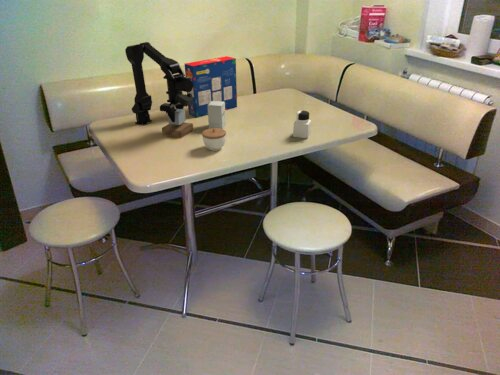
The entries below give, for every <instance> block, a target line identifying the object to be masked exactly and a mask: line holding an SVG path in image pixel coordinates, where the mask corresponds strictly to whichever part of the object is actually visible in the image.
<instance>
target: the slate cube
mask: <svg viewBox="0 0 500 375" xmlns="http://www.w3.org/2000/svg"><path fill="white" fill-rule="evenodd" d="M175 109H177V110H176V111H175V122H172V121H171V119H170V118H169V116H168V115H167V119H168V120H167V121H168V124H177V125H180V124H182V123H183V122H185V123H186V113H185V109H184V108H183V109H178V108H175Z"/></svg>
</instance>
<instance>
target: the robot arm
mask: <svg viewBox="0 0 500 375" xmlns="http://www.w3.org/2000/svg"><path fill="white" fill-rule="evenodd" d="M124 51H125V52H124V53H125V55H126V59H127V60H128V62H129V63H130V64H131V68H132V70H131V71H132V75H133V81H134V86H135V92H136V93H135V97H134V99H133V100H134V105H133V106H132V107H131V111H132V113H133V114H135V118H136V121H135V122H134V123H135V124H136V125H143V126H146V125H148V124H150V123H151V122H152V120H151V116H150V112H149V111H151V110H152V106H153V101H152V95H151V94H150V95H149V93H148V92H147V88H146V81H145V76H144V69H143V61H144V58H145V55H146V56H147V57H148V58H150V59H151V60H152V61H153V62H155V64H157V65H158V66H160V70H161V71H162V72H163V74H165V75H164V76H163V79H165V80H166V85H167V86H166V87H167V91H165V93H166V95H167V96H168V99H167V100H166V102H164V103H163V104H160V105H159V111H160V112H165V113H166V115H167V117H168V116H169V118H170V119H171V121H172V122H175V111H176V110H177V109H175V108H178V109H184V108H185V107H188V105H190V104H191V101H192V100H193V99H192V94H191V93H188V94H187V92H191V91H192V89H193V83H192V81H191V80H189V77H186V75H185V71H184V70H183V69H182V66H181V65H180V63H179V62H178V61H177V60H175V59H173V58H170V57H166V56H165V55H164V54H163V53H162V52H160V51H159V50H158V49H156V48H155V47H154V46H152V45H151V43H150V42H148V41H145V42H140V43H139V44H133V45H127V46H126V48H125V49H124ZM144 54H145V55H144ZM183 92H185V93H186V94H184V93H183Z"/></svg>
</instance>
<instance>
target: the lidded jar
mask: <svg viewBox="0 0 500 375" xmlns="http://www.w3.org/2000/svg"><path fill="white" fill-rule="evenodd" d="M226 134H227V132H226V130H225V129H224V128H223V129H220V128H211V129H209V128H207V129H204V130H203V131H202V132H201V136H202V141H203V144H204V146H205V147H206V148H207V149H208V150H209V151H213V152H215V151H220V150H221V149H222V148H223V147H224V146H225V144H226V141H227V139H226V138H227V135H226Z"/></svg>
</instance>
